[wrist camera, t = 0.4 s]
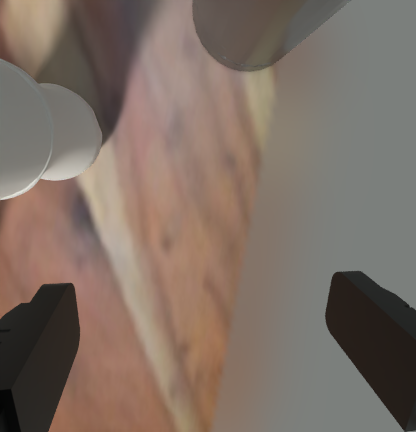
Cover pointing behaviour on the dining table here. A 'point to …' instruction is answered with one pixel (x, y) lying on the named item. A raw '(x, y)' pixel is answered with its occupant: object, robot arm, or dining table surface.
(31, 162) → the water bottle
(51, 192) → the dining table surface
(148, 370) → the dining table surface
